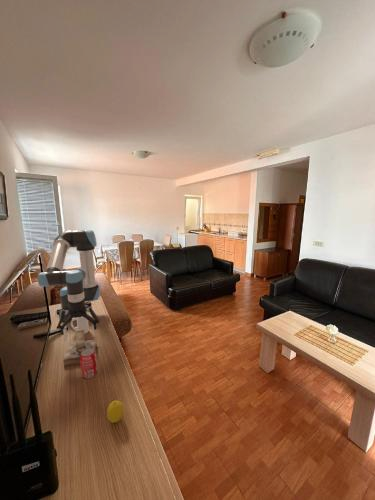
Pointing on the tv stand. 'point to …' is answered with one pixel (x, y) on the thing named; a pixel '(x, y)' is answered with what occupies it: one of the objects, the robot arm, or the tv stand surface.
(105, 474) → the tv stand surface
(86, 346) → the beige flat square block
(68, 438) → the tv stand surface
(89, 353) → the soda can
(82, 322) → the mug
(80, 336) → the leg peg
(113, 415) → the lemon
